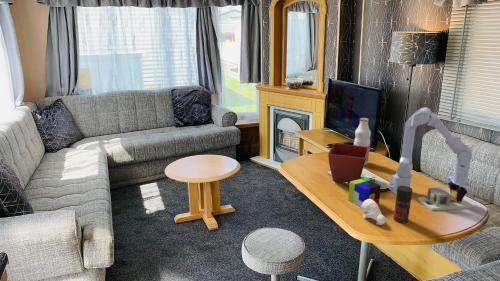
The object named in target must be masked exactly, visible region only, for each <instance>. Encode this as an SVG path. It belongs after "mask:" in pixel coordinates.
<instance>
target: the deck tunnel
mask: <svg viewBox="0 0 500 281" xmlns="http://www.w3.org/2000/svg"><path fill="white" fill-rule="evenodd" d="M431 194H433V196H431ZM434 195H436V196H437V200H436V201H435V200H434ZM450 196H451V193H449V192H447V191H446V190H444V189H443V188H441V187H440V186H439V187H438V186H437V187H428V188H427V194H426V196H423V197H418V198H417V201H418V202H420V203H421V204H422V205H423V206H425V207H426V208H428V210H430V211H431V212H432V211H433V212H435V211H446V210H458V209H461V210H462V209H471V208H474V204H473V203H470V202H469V201H467V200H466V199H464V198H463V199H462V202H450V203H449V201H450ZM440 197H447V198H446V204H439V203H440Z"/></svg>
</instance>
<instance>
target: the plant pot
mask: <svg viewBox="0 0 500 281" xmlns="http://www.w3.org/2000/svg"><path fill="white" fill-rule="evenodd" d="M367 153H368V147H363V146H354V144H353V145H352V144H345V143H344V144H343V143H333V144H332V146H331V148H330V149H329V151H328V154H327V156H328V165H329V169H330V173H331V176H332V180H333V182H337V183H343V182H348V183H347V184H350V181H354V180H358V179H361V177H362V173H363V170H364V167H365V165H364V164H365V161H366V157H367Z"/></svg>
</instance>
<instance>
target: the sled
mask: <svg viewBox="0 0 500 281" xmlns="http://www.w3.org/2000/svg"><path fill="white" fill-rule="evenodd" d="M450 194H451V196H450V201H449V203H450V202H458V201H457V190H452V191H451V192H450ZM433 197H434V200H435V201H436V200H437V196H436V195H434V194H433ZM446 198H447V197H440V203H439V204H446ZM459 202H462V201H459Z"/></svg>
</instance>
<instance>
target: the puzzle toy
mask: <svg viewBox="0 0 500 281" xmlns="http://www.w3.org/2000/svg"><path fill="white" fill-rule="evenodd" d="M381 188H382V185H381V184H379V183H377V182H375V181H373V180H372V179H369V178H367V177H363V178H360V179H358V180H354V181H350V183H349V186H348V196H347V197H348V198H347V199H348V201H349V202H350V203H352V204H354V205H355V206H357V207H358V208H360V209H362V207H361V206H362V204H363V202H364V201H365V200H367V199H372V200H373V201H375V202H376V204H377V205H378V206H379V204H380V196H381V190H382V189H381Z"/></svg>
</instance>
